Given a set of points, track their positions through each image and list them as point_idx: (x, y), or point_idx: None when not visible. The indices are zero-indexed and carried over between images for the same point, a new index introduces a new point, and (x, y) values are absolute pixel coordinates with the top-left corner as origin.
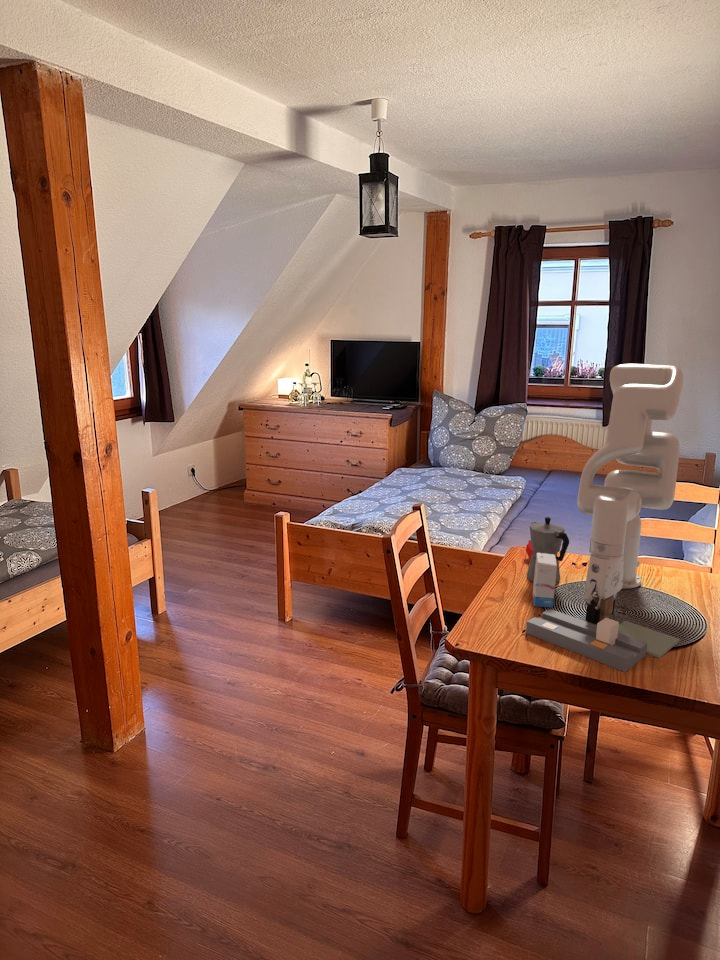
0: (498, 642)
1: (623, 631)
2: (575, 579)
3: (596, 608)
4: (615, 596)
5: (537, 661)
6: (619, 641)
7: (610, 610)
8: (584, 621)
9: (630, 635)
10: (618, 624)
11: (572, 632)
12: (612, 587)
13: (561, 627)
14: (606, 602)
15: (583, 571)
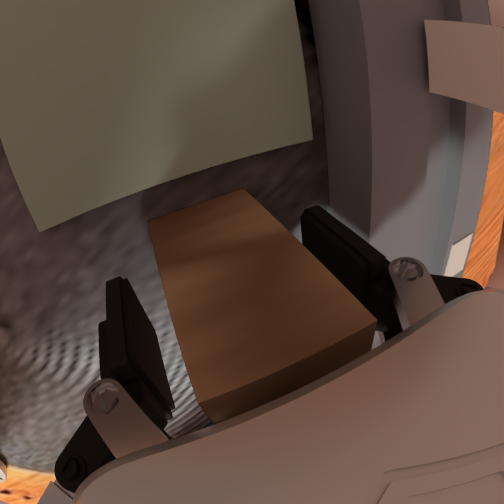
0: (474, 260)
1: (165, 111)
2: (53, 477)
3: (419, 262)
4: (99, 401)
5: (501, 158)
6: (419, 4)
7: (201, 276)
8: (372, 244)
9: (174, 49)
10: (500, 27)
11: (465, 188)
12: (457, 442)
13: (452, 236)
14: (348, 306)
15: (17, 484)
